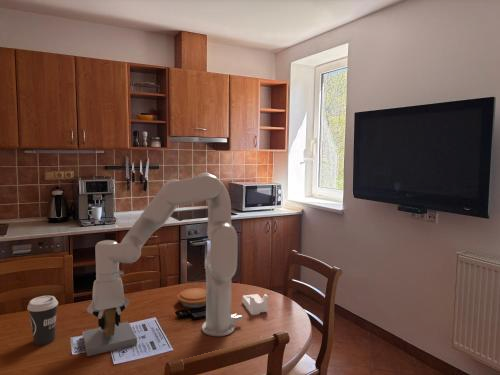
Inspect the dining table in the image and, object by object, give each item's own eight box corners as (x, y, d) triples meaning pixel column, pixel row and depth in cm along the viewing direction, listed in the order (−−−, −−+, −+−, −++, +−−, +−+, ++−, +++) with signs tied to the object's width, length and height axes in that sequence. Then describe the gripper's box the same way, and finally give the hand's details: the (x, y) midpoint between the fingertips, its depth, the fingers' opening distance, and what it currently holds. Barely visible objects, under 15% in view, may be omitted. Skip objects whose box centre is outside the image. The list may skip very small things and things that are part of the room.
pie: (170, 303, 166) (170, 292, 166) (196, 293, 178) (196, 283, 178) (193, 313, 156) (193, 302, 156) (219, 302, 168) (219, 291, 168)
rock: (119, 330, 127) (130, 312, 136) (100, 314, 125) (112, 297, 135) (99, 347, 129) (110, 328, 139) (80, 331, 128) (93, 313, 137)
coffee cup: (38, 350, 126) (36, 307, 125) (23, 342, 131) (21, 301, 130) (65, 338, 135) (63, 298, 133) (50, 331, 140) (48, 292, 138)
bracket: (267, 313, 158) (268, 296, 157) (251, 315, 156) (251, 298, 155) (257, 301, 170) (257, 285, 169) (242, 303, 168) (242, 286, 167)
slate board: (128, 327, 143) (128, 321, 143) (136, 344, 131) (136, 337, 131) (82, 337, 135) (82, 331, 135) (87, 356, 123) (87, 349, 123)
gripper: (130, 269, 138) (131, 316, 140) (80, 276, 130) (82, 327, 132) (135, 275, 132) (136, 325, 134) (82, 283, 124) (84, 336, 125)
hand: (109, 325), depth 133 cm, fingers closed on rock, 4 cm apart
